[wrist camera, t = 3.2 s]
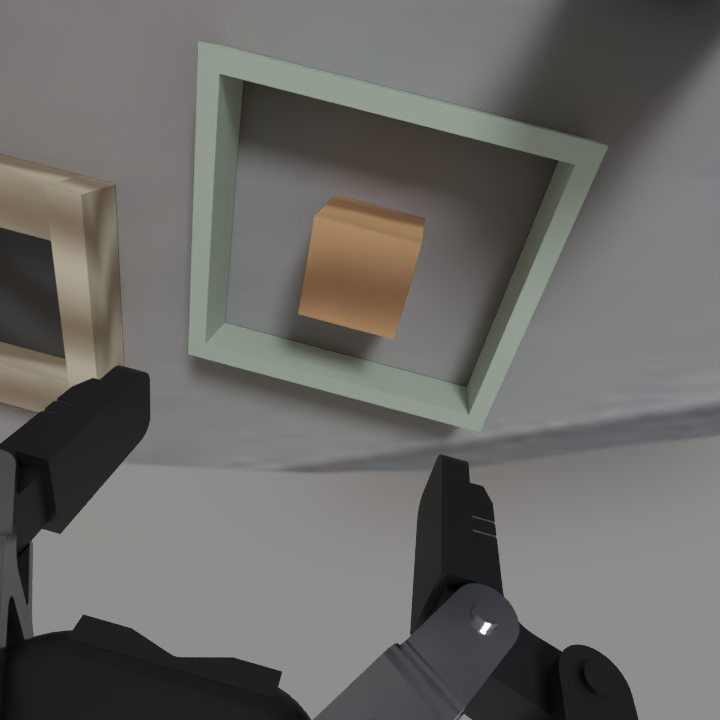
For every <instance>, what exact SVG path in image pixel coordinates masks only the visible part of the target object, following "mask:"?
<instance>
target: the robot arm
mask: <svg viewBox="0 0 720 720" xmlns="http://www.w3.org/2000/svg"><path fill="white" fill-rule="evenodd" d="M149 422H150V378H149V375H148V373H146V372H142V371H139V370H135V369H132V368H128V367H124V366H120V365H118V366H115V367H114V368H113V369H111V370H110V371H109V372H108V373H107V374H106V375H104V376H103V377H102V378H101V379H100V380H99V379H95V378H91V379H89V380H86V381H84V382H82V383H79V384H77V385H74V386H72V387H71V388H69V389H68V390H67V391H66V392H64V393H63V394H62V395H61V396H59V397H58V398H57V401H53V402H52V403H51V404H49V405H48V406H47V407H46V408H45V410H44V411H41V412H39V413H38V414H37V415H36V416H34V417H33V418H32V419H31V420H29V421H28V422H27V423H26V424H24V425H23V426H22V427H21V428H19V429H18V430H17V431H16V432H14V433H13V434H12V435H11V436H9V437H8V438H7V439H6V440H4V441H3V442H2V443H1V444H0V720H311V719H310V717H309V716H308V714H307V713H306V712H305V711H304V710H303V708H302V707H301V706H300V705H299V704H298V702H296V701H295V700H294V699H293V698H292V697H291V696H290V695H288V694H287V693H286V692H284V691H283V690H281V689H280V688H278V685H279V681H280V677H281V673H282V672H281V671H278V670H275V669H271V668H268V667H264V666H261V665H257V664H254V663H250V662H247V661H243V660H239V659H236V658H206V657H204V658H203V657H201V658H200V657H198V658H195V657H191V658H189V657H183V658H182V657H176V656H173V655H171V654H169V653H168V652H166V651H165V650H163V649H162V648H160V647H159V646H157V645H156V644H154V643H153V642H151V641H150V640H148V639H147V638H145V637H144V636H142V635H140V634H139V633H138V632H136V631H135V630H133V629H132V628H128V627H124V626H121V625H118V624H114V623H111V622H107V621H104V620H100V619H96V618H93V617H90V616H86V615H83V616H82V618H81V619H80V620H79V622H78V623H77V625H76V626H75V628H74V629H73V630H72V631H60V632H52V633H48V634H43V635H39V636H35V637H34V634H33V625H32V572H33V569H32V568H33V543H32V539H33V538H34V537H35V536H36V534H37V533H38V532H39V531H40V530H41V529H45V530H48V531H52V532H55V533H59V534H60V533H62V531H63V530H64V529H65V528H66V527H67V526H68V524H69V523H70V522H71V521H72V520H73V519H74V517H75V516H76V515H77V514H78V513H79V512H80V510H81V509H82V508H83V507H84V506H85V505H86V504H87V502H88V501H89V500H90V499H91V498H92V497H93V495H94V494H95V493H96V492H97V491H98V490H99V488H100V487H101V486H102V485H103V483H105V481H106V480H107V479H108V478H109V477H110V476H111V475H112V473H113V472H114V471H115V470H116V469H117V468H118V466H119V465H120V464H121V463H122V462H123V461H124V459H125V458H126V457H127V456H128V455H129V454H130V452H131V451H132V450H133V449H134V448H135V447H136V446H137V444H138V443H139V442H140V441H141V440H142V438H143V437H144V435H145V433H146V431H147V429H148V426H149ZM494 521H495V520H494V511H493V503H492V501H491V500H490V498H489V496H488V494H487V493H486V491H485V489H484V487H483V486H480V485H476V484H473V483H470V479H469V465H468V462H467V461H463V460H460V459H456V458H452V457H449V456H445V455H441V454H440V455H439V456H438V458H437V460H436V462H435V465H434V467H433V470H432V472H431V475H430V477H429V480H428V482H427V485H426V487H425V490H424V492H423V495H422V498H421V501H420V505H419V510H418V518H417V533H416V550H415V565H414V581H413V597H412V614H411V630H410V634H411V636H410V637H409V638H408V639H407V640H406V641H405V642H404V643H402V644H401V645H399V644H398V643H396V644H394V645H392V646H391V647H390V648H388V649H387V650H386V651H385V652H384V653H383V654H382V655H381V656H380V657H378V658H377V659H376V660H375V661H374V662H373V663H372V664H371V665H370V666H369V667H368V668H367V669H366V670H365V671H364V672H363V673H362V674H361V675H360V676H359V677H357V678H356V679H355V680H354V681H353V682H352V683H351V684H350V685H349V686H348V687H347V688H346V689H345V690H344V691H343V692H342V693H341V694H340V695H339V696H338V697H337V698H336V699H334V700H333V701H332V702H331V703H330V704H329V705H328V706H327V707H326V708H325V709H324V710H323V711H322V712H321V713H320V714H319V715H318V716H317V717H315V718H314V719H313V720H460V719H461V717H462V716H463V715H464V714H465V715H467V716H468V717H469V718H471V719H472V720H638V716H637V713H636V708H635V705H634V701H633V697H632V694H631V691H630V688H629V686H628V683H627V681H626V680H625V678H624V676H623V675H622V673H621V672H620V671H619V669H618V668H617V667H616V666H615V665H614V664H613V663H612V662H611V661H610V660H609V659H608V658H607V657H606V656H604V655H603V654H602V653H600V652H598V651H597V650H595V649H593V648H590V647H588V646H584V645H571V646H569V647H567V648H566V649H564V650H563V652H561V651H560V650H558V649H556V648H555V647H553V646H551V645H550V644H548V643H547V642H545V641H543V640H542V639H540V638H539V637H537V636H535V635H534V634H532V633H531V632H529V631H528V630H527V629H526V628H524V627H523V626H522V625H521V624H520V623H519V622H518V618H517V615H516V613H515V611H514V609H513V607H512V606H511V605H510V603H509V602H508V600H507V599H505V597H504V595H503V589H502V580H501V571H500V564H499V554H498V545H497V539H496V528H495V524H494Z"/></svg>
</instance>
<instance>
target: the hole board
mask: <svg viewBox="0 0 720 720" xmlns="http://www.w3.org/2000/svg"><path fill="white" fill-rule="evenodd" d="M118 365H120V366H124V354H123V334H122V314H121V294H120V274H119V254H118V234H117V214H116V194H115V184H112V183H108V182H104V181H100V180H97V179H93V178H89V177H85V176H81V175H77V174H74V173H70V172H66V171H62V170H58V169H54V168H51V167H47V166H43V165H39V164H35V163H32V162H28V161H24V160H20V159H16V158H12V157H9V156H5V155H1V154H0V402H2V403H6V404H10V405H13V406H17V407H21V408H24V409H28V410H32V411H35V412H41V411H44V410H45V408H46V407H47V406H48V405H49V404H51V403H52V402H53V401H57V398H58V397H59V396H61V395H62V394H63V393H64V392H66V391H67V390H68V389H69V388H71V387H72V386H74V385H77V384H79V383H82V382H84V381H86V380H89V379H91V378H95V379H99V380H100V379H101V378H102V377H103V376H104V375H106V374H107V373H108V372H109V371H110V370H111V369H113V368H114V367H115V366H118Z"/></svg>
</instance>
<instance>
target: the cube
mask: <svg viewBox="0 0 720 720" xmlns="http://www.w3.org/2000/svg"><path fill="white" fill-rule="evenodd" d="M424 222H425V218H421V217H418V216H414V215H410V214H406V213H402V212H399V211H395V210H391V209H387V208H383V207H380V206H376V205H372V204H368V203H364V202H361V201H357V200H353V199H349V198H345V197H342V196H338V195H335V196H334V197H333V198H332V199H331V200H330V201H329V202H328V203H327V204H326V205H325V206H324V207H323V208H322V209H321V210H320V211H319V212H318V213H317V214H316V215H315V216H314V222H313V228H312V234H311V240H310V246H309V252H308V258H307V264H306V270H305V276H304V282H303V287H302V293H301V299H300V305H299V311H298V314H300V315H303V316H307V317H311V318H315V319H318V320H322V321H326V322H330V323H333V324H337V325H341V326H345V327H348V328H352V329H356V330H360V331H363V332H367V333H371V334H375V335H378V336H382V337H386V338H390V339H393V340H394V338H395V334H396V331H397V327H398V324H399V320H400V317H401V314H402V310H403V307H404V303H405V300H406V297H407V293H408V290H409V286H410V283H411V280H412V276H413V273H414V269H415V266H416V263H417V259H418V256H419V252H420V249H421V246H422V239H423V230H424Z"/></svg>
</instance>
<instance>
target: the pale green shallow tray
mask: <svg viewBox="0 0 720 720" xmlns="http://www.w3.org/2000/svg"><path fill="white" fill-rule="evenodd" d="M243 80H246V81H250V82H254V83H258V84H262V85H266V86H270V87H273V88H277V89H281V90H285V91H289V92H293V93H297V94H301V95H305V96H309V97H312V98H316V99H320V100H324V101H328V102H332V103H336V104H340V105H344V106H348V107H352V108H355V109H359V110H363V111H367V112H371V113H375V114H379V115H383V116H387V117H391V118H394V119H398V120H402V121H406V122H410V123H414V124H418V125H422V126H426V127H430V128H434V129H437V130H441V131H445V132H449V133H453V134H457V135H461V136H465V137H469V138H473V139H476V140H480V141H484V142H488V143H492V144H496V145H500V146H504V147H508V148H512V149H516V150H519V151H523V152H527V153H531V154H535V155H539V156H543V157H547V158H551V159H555V160H558V163H557V166H556V168H555V171H554V173H553V176H552V178H551V181H550V183H549V186H548V188H547V190H546V193H545V195H544V198H543V200H542V203H541V205H540V208H539V210H538V213H537V215H536V218H535V220H534V223H533V225H532V227H531V230H530V232H529V235H528V237H527V240H526V242H525V245H524V247H523V250H522V252H521V255H520V257H519V259H518V262H517V264H516V267H515V269H514V272H513V274H512V277H511V279H510V282H509V284H508V287H507V289H506V292H505V294H504V296H503V299H502V301H501V304H500V306H499V309H498V311H497V314H496V316H495V319H494V321H493V324H492V326H491V328H490V331H489V333H488V336H487V338H486V341H485V343H484V346H483V348H482V351H481V353H480V356H479V358H478V360H477V363H476V365H475V368H474V370H473V373H472V375H471V378H470V380H469V383H468V385H467V387H464V386H461V385H457V384H453V383H449V382H446V381H442V380H438V379H434V378H431V377H427V376H423V375H419V374H415V373H412V372H408V371H404V370H400V369H397V368H393V367H389V366H385V365H382V364H378V363H374V362H370V361H367V360H363V359H359V358H355V357H352V356H348V355H344V354H340V353H337V352H333V351H329V350H325V349H322V348H318V347H314V346H310V345H306V344H303V343H299V342H295V341H291V340H288V339H284V338H280V337H276V336H273V335H269V334H265V333H261V332H258V331H254V330H250V329H246V328H243V327H239V326H235V325H231V324H228V323H225V315H226V302H227V289H228V275H229V262H230V249H231V236H232V223H233V210H234V197H235V184H236V171H237V158H238V145H239V132H240V119H241V105H242V92H243ZM608 147H609V146H607V145H605V144H602V143H599V142H597V141H594V140H591V139H588V138H584V137H580V136H576V135H572V134H568V133H564V132H560V131H556V130H553V129H549V128H545V127H541V126H537V125H533V124H529V123H525V122H521V121H517V120H513V119H509V118H505V117H502V116H498V115H494V114H490V113H486V112H482V111H478V110H474V109H470V108H466V107H462V106H458V105H454V104H451V103H447V102H443V101H439V100H435V99H431V98H427V97H423V96H419V95H415V94H411V93H407V92H403V91H400V90H396V89H392V88H388V87H384V86H380V85H376V84H372V83H368V82H364V81H360V80H356V79H352V78H349V77H345V76H341V75H337V74H333V73H329V72H325V71H321V70H317V69H313V68H309V67H305V66H301V65H298V64H294V63H290V62H286V61H282V60H278V59H274V58H270V57H266V56H262V55H258V54H254V53H250V52H247V51H243V50H239V49H235V48H231V47H227V46H222V45H216V44H211V43H205V42H198V72H197V103H196V133H195V164H194V194H193V225H192V256H191V286H190V317H189V347H188V354H189V355H192V356H196V357H200V358H204V359H207V360H211V361H215V362H219V363H222V364H226V365H230V366H234V367H237V368H241V369H245V370H248V371H252V372H256V373H260V374H263V375H267V376H271V377H275V378H278V379H282V380H286V381H290V382H293V383H297V384H301V385H305V386H308V387H312V388H316V389H319V390H323V391H327V392H331V393H334V394H338V395H342V396H346V397H349V398H353V399H357V400H361V401H364V402H368V403H372V404H375V405H379V406H383V407H387V408H390V409H394V410H398V411H402V412H405V413H409V414H413V415H417V416H420V417H424V418H428V419H432V420H435V421H439V422H443V423H446V424H450V425H454V426H458V427H461V428H465V429H469V430H473V431H476V432H480V431H481V429H482V426H483V424H484V422H485V420H486V417H487V415H488V413H489V411H490V409H491V406H492V404H493V402H494V400H495V397H496V395H497V393H498V391H499V389H500V386H501V384H502V382H503V380H504V378H505V375H506V373H507V371H508V369H509V366H510V364H511V362H512V360H513V358H514V355H515V353H516V351H517V349H518V346H519V344H520V342H521V340H522V338H523V335H524V333H525V331H526V329H527V326H528V324H529V322H530V320H531V318H532V315H533V313H534V311H535V309H536V306H537V304H538V302H539V300H540V298H541V295H542V293H543V291H544V289H545V287H546V284H547V282H548V280H549V278H550V275H551V273H552V271H553V269H554V267H555V264H556V262H557V260H558V258H559V255H560V253H561V251H562V249H563V247H564V244H565V242H566V240H567V238H568V235H569V233H570V231H571V229H572V227H573V224H574V222H575V220H576V218H577V216H578V213H579V211H580V209H581V207H582V204H583V202H584V200H585V198H586V196H587V193H588V191H589V189H590V187H591V184H592V182H593V180H594V178H595V176H596V173H597V171H598V169H599V167H600V164H601V162H602V160H603V158H604V156H605V153H606V151H607V149H608Z"/></svg>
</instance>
